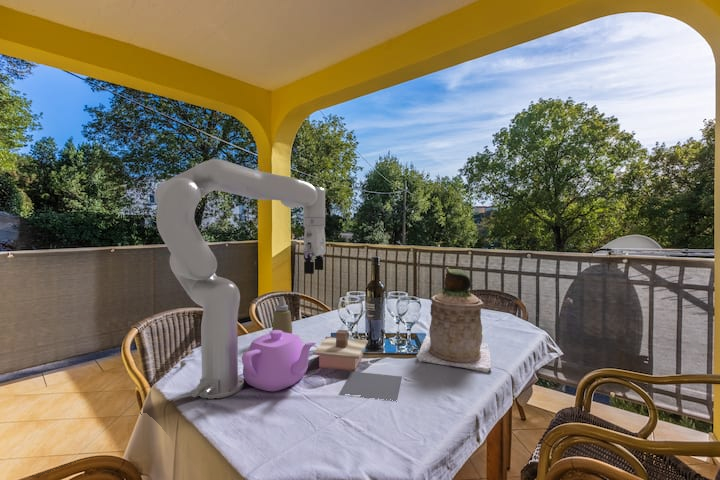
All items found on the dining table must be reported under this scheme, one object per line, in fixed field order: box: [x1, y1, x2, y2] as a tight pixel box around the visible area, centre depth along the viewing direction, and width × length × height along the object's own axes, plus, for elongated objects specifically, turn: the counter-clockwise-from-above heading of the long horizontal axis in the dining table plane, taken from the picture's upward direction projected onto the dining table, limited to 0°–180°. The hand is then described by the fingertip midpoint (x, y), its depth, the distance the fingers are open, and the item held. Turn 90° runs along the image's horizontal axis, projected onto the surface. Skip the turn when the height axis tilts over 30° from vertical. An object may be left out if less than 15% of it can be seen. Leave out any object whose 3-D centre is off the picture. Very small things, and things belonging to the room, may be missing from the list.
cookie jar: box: [416, 267, 493, 373], centre depth 121 cm, size 25×25×32 cm
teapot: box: [241, 330, 317, 392], centre depth 98 cm, size 23×21×15 cm
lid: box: [312, 329, 369, 359], centre depth 114 cm, size 15×15×6 cm
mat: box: [338, 371, 403, 403], centre depth 98 cm, size 15×16×1 cm
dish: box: [318, 351, 364, 372], centre depth 114 cm, size 12×12×5 cm
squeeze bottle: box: [271, 295, 293, 334], centre depth 135 cm, size 8×8×18 cm
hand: (314, 271), depth 118 cm, fingers open, 9 cm apart
